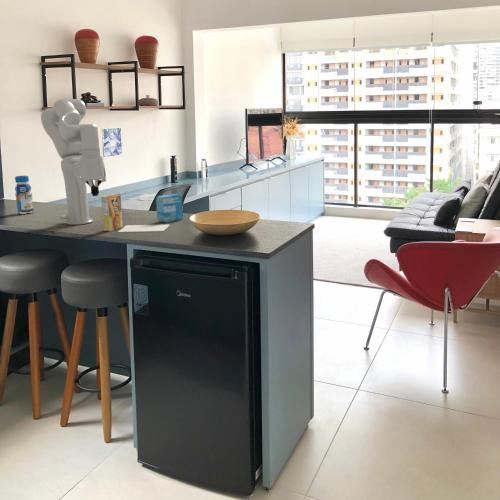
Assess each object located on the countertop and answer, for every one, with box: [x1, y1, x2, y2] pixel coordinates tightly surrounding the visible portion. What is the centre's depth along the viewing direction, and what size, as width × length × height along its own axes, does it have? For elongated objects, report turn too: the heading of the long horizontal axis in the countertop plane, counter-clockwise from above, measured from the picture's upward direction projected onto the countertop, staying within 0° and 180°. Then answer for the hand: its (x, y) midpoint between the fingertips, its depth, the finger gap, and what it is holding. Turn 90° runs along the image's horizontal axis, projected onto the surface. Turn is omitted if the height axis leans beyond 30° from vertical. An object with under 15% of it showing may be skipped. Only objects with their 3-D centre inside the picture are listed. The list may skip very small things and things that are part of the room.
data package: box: [155, 193, 184, 223], centre depth 278 cm, size 12×4×12 cm, turn 135°
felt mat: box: [117, 223, 171, 233], centre depth 261 cm, size 20×15×1 cm
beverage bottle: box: [14, 175, 35, 213], centre depth 316 cm, size 8×8×20 cm
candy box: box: [100, 193, 124, 232], centre depth 261 cm, size 9×4×15 cm, turn 155°
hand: (95, 195), depth 259 cm, fingers closed
